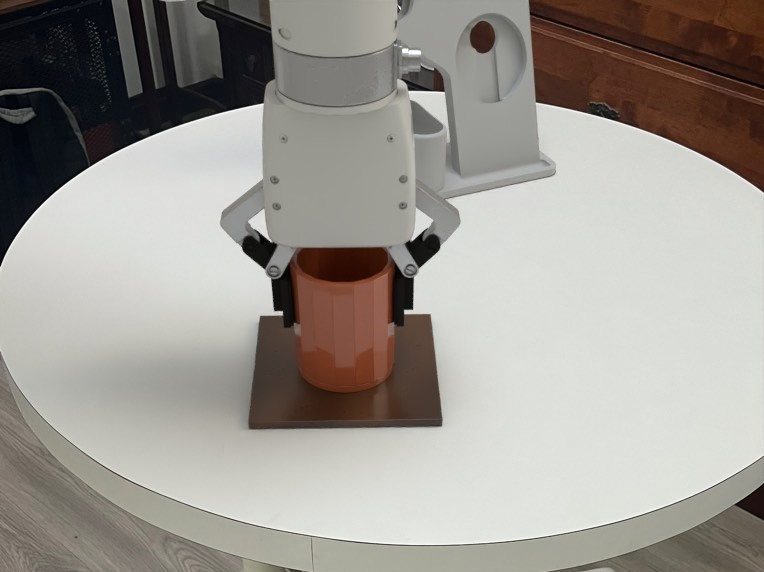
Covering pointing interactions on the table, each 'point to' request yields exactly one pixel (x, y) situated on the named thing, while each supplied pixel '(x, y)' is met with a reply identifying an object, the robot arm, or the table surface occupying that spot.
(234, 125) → the table surface
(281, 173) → the robot arm
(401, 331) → the coaster
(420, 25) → the phone holder
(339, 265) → the cup
